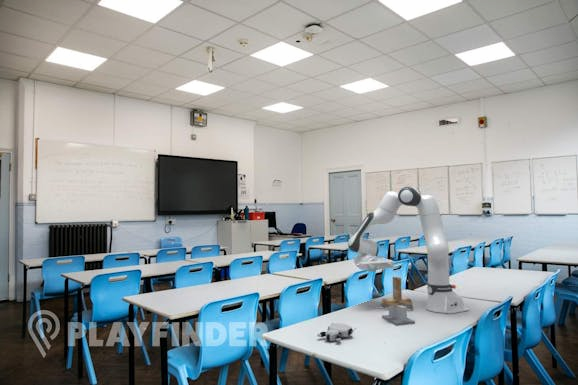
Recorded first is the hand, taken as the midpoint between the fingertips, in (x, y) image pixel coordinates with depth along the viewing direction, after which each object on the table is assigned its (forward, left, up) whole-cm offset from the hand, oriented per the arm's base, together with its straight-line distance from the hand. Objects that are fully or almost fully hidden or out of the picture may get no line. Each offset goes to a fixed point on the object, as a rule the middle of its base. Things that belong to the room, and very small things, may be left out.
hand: (382, 266), depth 211 cm
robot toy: (+40, +31, -25) cm, 57 cm away
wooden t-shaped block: (+1, +16, -17) cm, 23 cm away
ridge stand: (+1, +16, -25) cm, 30 cm away
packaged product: (-11, -6, -25) cm, 28 cm away
